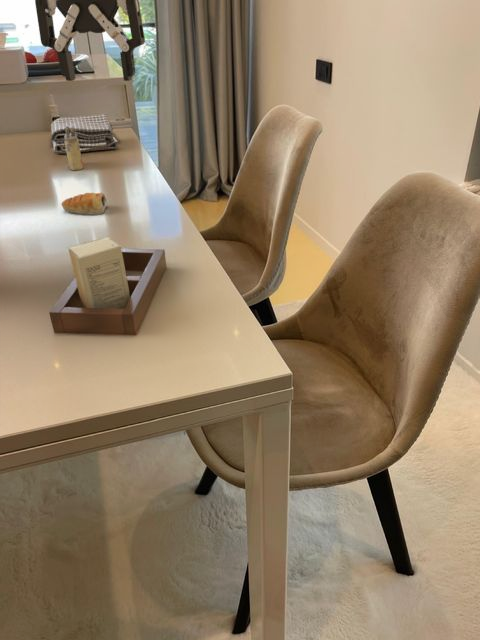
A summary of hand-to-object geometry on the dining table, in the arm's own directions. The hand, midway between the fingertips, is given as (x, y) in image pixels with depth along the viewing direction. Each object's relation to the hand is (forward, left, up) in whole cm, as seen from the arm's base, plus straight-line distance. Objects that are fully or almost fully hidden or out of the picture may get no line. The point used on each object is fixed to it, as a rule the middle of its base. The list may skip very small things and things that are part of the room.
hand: (99, 80), depth 82 cm
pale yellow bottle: (-30, +61, -30) cm, 74 cm away
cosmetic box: (+2, -19, -30) cm, 36 cm away
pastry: (-16, +28, -30) cm, 44 cm away
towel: (-34, +82, -30) cm, 94 cm away
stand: (+2, -14, -30) cm, 33 cm away
